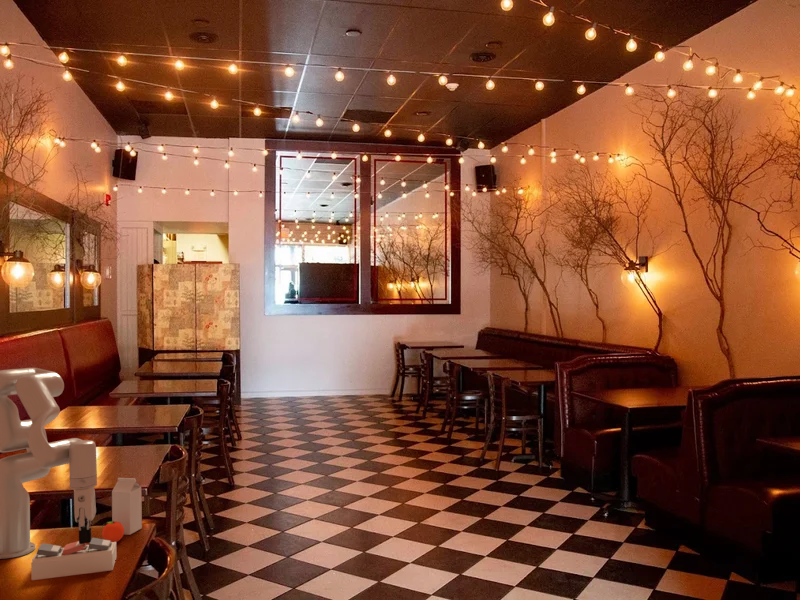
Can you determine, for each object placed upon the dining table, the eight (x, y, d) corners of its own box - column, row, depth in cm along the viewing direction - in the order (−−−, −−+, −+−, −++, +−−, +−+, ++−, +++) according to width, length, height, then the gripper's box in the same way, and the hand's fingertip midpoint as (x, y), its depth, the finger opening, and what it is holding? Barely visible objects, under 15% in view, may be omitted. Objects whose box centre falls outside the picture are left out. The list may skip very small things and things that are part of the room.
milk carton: (130, 535, 232) (129, 481, 232) (112, 534, 233) (111, 480, 234) (142, 528, 239) (141, 476, 239) (124, 527, 240) (123, 475, 240)
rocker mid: (63, 555, 198) (62, 550, 198) (66, 548, 203) (65, 544, 203) (83, 549, 199) (82, 545, 199) (86, 543, 205) (85, 538, 205)
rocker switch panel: (31, 580, 194) (31, 559, 194) (39, 566, 204) (39, 547, 204) (112, 570, 200) (112, 550, 201) (116, 557, 211) (116, 538, 211)
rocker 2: (88, 548, 200) (89, 543, 200) (90, 542, 205) (92, 537, 205) (107, 551, 201) (108, 546, 201) (109, 544, 207) (111, 540, 207)
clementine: (94, 544, 223) (94, 523, 223) (108, 537, 230) (108, 517, 230) (115, 546, 221) (115, 525, 221) (128, 539, 228) (128, 518, 228)
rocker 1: (36, 554, 195) (37, 549, 196) (40, 547, 201) (41, 542, 201) (56, 557, 197) (58, 552, 197) (60, 550, 202) (61, 545, 202)
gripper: (93, 486, 196) (95, 548, 196) (99, 475, 210) (101, 533, 210) (65, 489, 194) (67, 552, 193) (73, 477, 208) (75, 536, 208)
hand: (85, 542), depth 202 cm, fingers closed
